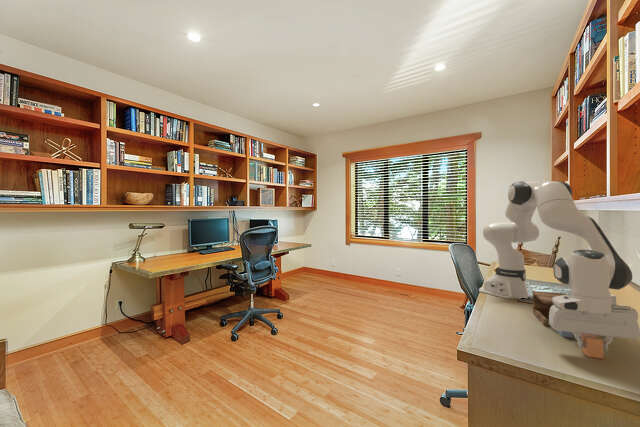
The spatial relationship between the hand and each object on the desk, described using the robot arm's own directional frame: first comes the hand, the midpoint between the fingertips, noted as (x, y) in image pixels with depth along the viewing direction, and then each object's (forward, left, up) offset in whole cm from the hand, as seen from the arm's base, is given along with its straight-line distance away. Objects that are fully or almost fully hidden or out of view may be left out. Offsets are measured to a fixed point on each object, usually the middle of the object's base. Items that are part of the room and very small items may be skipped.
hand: (592, 347), depth 82 cm
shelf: (-13, +23, -2) cm, 27 cm away
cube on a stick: (-4, +7, -2) cm, 9 cm away
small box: (-3, +40, -3) cm, 40 cm away
